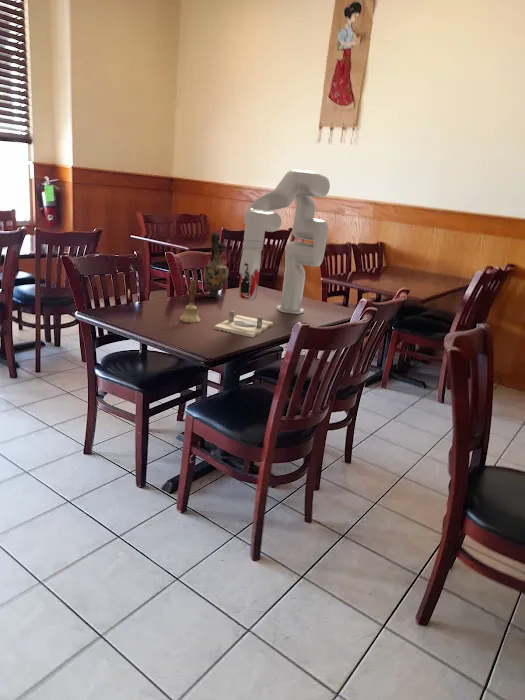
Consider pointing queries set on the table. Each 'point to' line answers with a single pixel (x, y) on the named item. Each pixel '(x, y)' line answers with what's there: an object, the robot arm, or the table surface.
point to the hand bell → (191, 307)
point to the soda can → (250, 287)
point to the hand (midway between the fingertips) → (248, 290)
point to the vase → (215, 268)
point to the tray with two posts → (244, 325)
